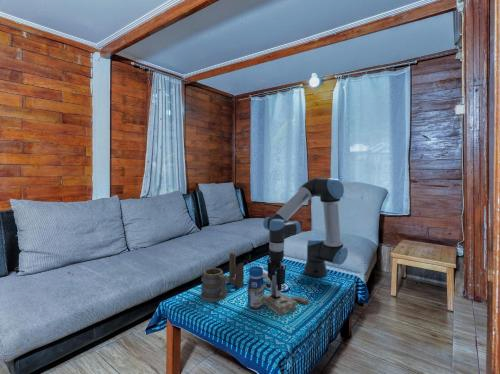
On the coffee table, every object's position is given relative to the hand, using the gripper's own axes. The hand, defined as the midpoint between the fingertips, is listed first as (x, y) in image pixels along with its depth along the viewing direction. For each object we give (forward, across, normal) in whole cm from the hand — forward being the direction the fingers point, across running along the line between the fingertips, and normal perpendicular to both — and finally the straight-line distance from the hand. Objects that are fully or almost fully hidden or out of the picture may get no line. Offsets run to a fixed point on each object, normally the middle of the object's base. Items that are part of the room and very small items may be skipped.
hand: (275, 294), depth 141 cm
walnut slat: (+5, +5, +12) cm, 14 cm away
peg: (+4, 0, 0) cm, 4 cm away
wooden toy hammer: (+5, -31, -6) cm, 32 cm away
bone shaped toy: (+5, -25, +12) cm, 28 cm away
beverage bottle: (+5, -2, -11) cm, 13 cm away
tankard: (+5, -20, -24) cm, 32 cm away
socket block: (+5, +3, 0) cm, 6 cm away
